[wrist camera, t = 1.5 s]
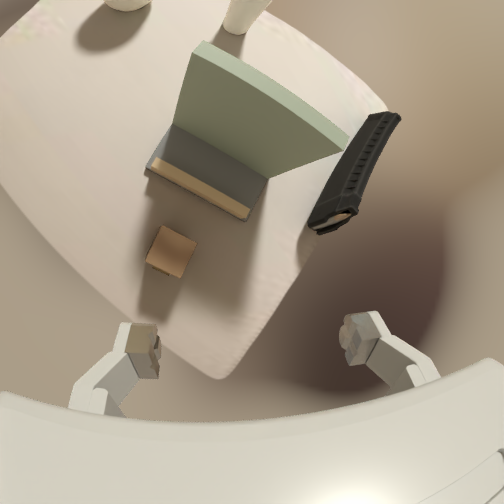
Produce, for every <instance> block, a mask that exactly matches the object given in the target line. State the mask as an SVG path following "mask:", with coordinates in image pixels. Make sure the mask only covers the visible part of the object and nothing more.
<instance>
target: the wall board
mask: <svg viewBox="0 0 504 504" xmlns="http://www.w3.org/2000/svg"><path fill="white" fill-rule="evenodd" d="M348 139H349V136H348V135H347V134H346V133H344V132H343V131H342V130H341V129H340V128H338V127H337V126H336V125H335V124H333V123H332V122H331V121H330V120H328V119H327V118H326V117H325V116H323V115H322V114H321V113H319V112H318V111H317V110H315V109H314V108H313V107H311V106H310V105H309V104H307V103H306V102H305V101H303V100H302V99H300V98H299V97H298V96H296V95H295V94H293V93H292V92H290V91H289V90H288V89H286V88H285V87H283V86H282V85H280V84H279V83H277V82H276V81H274V80H272V79H271V78H269V77H268V76H266V75H265V74H263V73H261V72H260V71H258V70H257V69H255V68H253V67H252V66H250V65H248V64H246V63H245V62H243V61H241V60H240V59H238V58H236V57H234V56H232V55H231V54H229V53H227V52H225V51H223V50H221V49H219V48H218V47H216V46H214V45H212V44H210V43H208V42H206V41H204V40H203V41H202V42H201V43H200V44H199V45H198V47H197V48H196V49H195V50H194V51H193V52H192V54H191V57H190V61H189V64H188V67H187V71H186V74H185V77H184V81H183V84H182V88H181V92H180V95H179V99H178V103H177V107H176V111H175V115H174V119H173V123H172V125H171V126H170V128H169V129H168V131H167V133H166V134H165V136H164V137H163V139H162V140H161V142H160V143H159V145H158V147H157V148H156V150H155V151H154V153H153V155H152V156H151V158H150V160H149V161H148V163H147V165H146V166H145V167H146V168H147V169H149V170H151V171H152V172H154V173H156V174H158V175H160V176H162V177H164V178H166V179H167V180H169V181H171V182H173V183H175V184H177V185H179V186H180V187H182V188H184V189H186V190H188V191H190V192H191V193H193V194H195V195H197V196H199V197H201V198H202V199H204V200H206V201H208V202H210V203H212V204H213V205H215V206H217V207H219V208H221V209H222V210H224V211H226V212H228V213H230V214H231V215H233V216H235V217H237V218H239V219H240V220H242V221H244V222H246V221H247V219H248V217H249V215H250V213H251V211H252V209H253V207H254V205H255V203H256V201H257V199H258V197H259V195H260V193H261V191H262V189H263V188H264V186H265V184H266V182H267V180H268V179H269V178H272V177H274V176H277V175H279V174H282V173H284V172H287V171H290V170H292V169H295V168H297V167H300V166H303V165H305V164H308V163H311V162H313V161H316V160H319V159H322V158H324V157H327V156H330V155H333V154H336V153H338V152H341V151H344V149H345V146H346V144H347V141H348Z"/></svg>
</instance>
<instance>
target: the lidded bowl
mask: <svg viewBox="0 0 504 504" xmlns="http://www.w3.org/2000/svg"><path fill="white" fill-rule="evenodd" d="M151 1H152V0H104V2H105V3H106V4H107V5H108V6H109V7H111V8H113V9H116V10H119V11H123V12H129V11H134V10H138V9H140V8H142V7H143V6H145V5H146V4H148V3H150V2H151Z"/></svg>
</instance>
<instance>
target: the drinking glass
mask: <svg viewBox="0 0 504 504" xmlns="http://www.w3.org/2000/svg"><path fill="white" fill-rule="evenodd" d="M272 1H273V0H231V2H230V5H229V8H228V10H227V13H226V16H225V18H224V20H223V27H224V29H225V30H226V31H228V32H229V33H231V34H236V35H240V34H244V33H246V32H247V31H248V30H249V28H250V26H251V25H252V24H253V23H254V21H255V20H256V19H257V18H258V17H259V15H260V14H261V13H262V12H263V11H264V10H265V9H266V8H267V6H268V5H269V4H270V3H271V2H272Z"/></svg>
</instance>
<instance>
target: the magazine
mask: <svg viewBox="0 0 504 504" xmlns="http://www.w3.org/2000/svg"><path fill="white" fill-rule="evenodd" d="M400 121H401V117H400V115H398V114H397V113H391V112H388V111H386V112H380V113H375V114H370V115H369V116H368V118H367V119H366V121H365V122H364V124H363V125H362V127H361V128H360V130H359V131H358V133H357V134H356V135H355V137H354V138H353V140H352V141H351V143H350V144H349V146H348V147H347V149H346V150H345V152H344V154H343V155H342V157H341V159H340V160H339V162H338V164H337V165H336V167H335V169H334V170H333V172H332V174H331V176H330V178H329V179H328V181H327V183H326V185H325V187H324V189H323V191H322V193H321V195H320V197H319V199H318V201H317V203H316V205H315V207H314V209H313V211H312V214H311V216H310V218H309V221H308V226H309V228H312V229H313V230H314V231H317V233H316V234H318V235H322V234H325V233H329V232H332V231H335V230H337V229H338V228H339V227H340V226H342V225H344V224H346V223H347V222H348V221H349V220H350V218H351V217H353V216H355V215H357V214H358V211H359V210H358V206H359V204H360V202H361V197H362V194H363V192H364V189H365V187H366V184H367V182H368V179H369V177H370V175H371V173H372V170H373V168H374V166H375V164H376V162H377V160H378V158H379V156H380V154H381V152H382V150H383V148H384V146H385V145H386V143H387V141H388V139H389V137H390V135H391V134H392V132H393V130H394V129H395V127H396V126H397V124H398V123H399V122H400Z"/></svg>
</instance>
